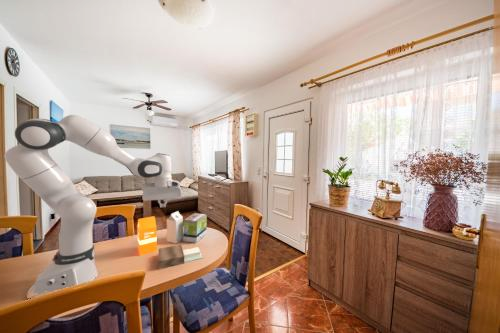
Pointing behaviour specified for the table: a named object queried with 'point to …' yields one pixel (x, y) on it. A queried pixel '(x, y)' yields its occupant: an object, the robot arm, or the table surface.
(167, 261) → the block
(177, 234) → the milk carton
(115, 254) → the table surface
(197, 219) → the tea box
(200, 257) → the mat
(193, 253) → the beige flat block
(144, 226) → the orange juice
